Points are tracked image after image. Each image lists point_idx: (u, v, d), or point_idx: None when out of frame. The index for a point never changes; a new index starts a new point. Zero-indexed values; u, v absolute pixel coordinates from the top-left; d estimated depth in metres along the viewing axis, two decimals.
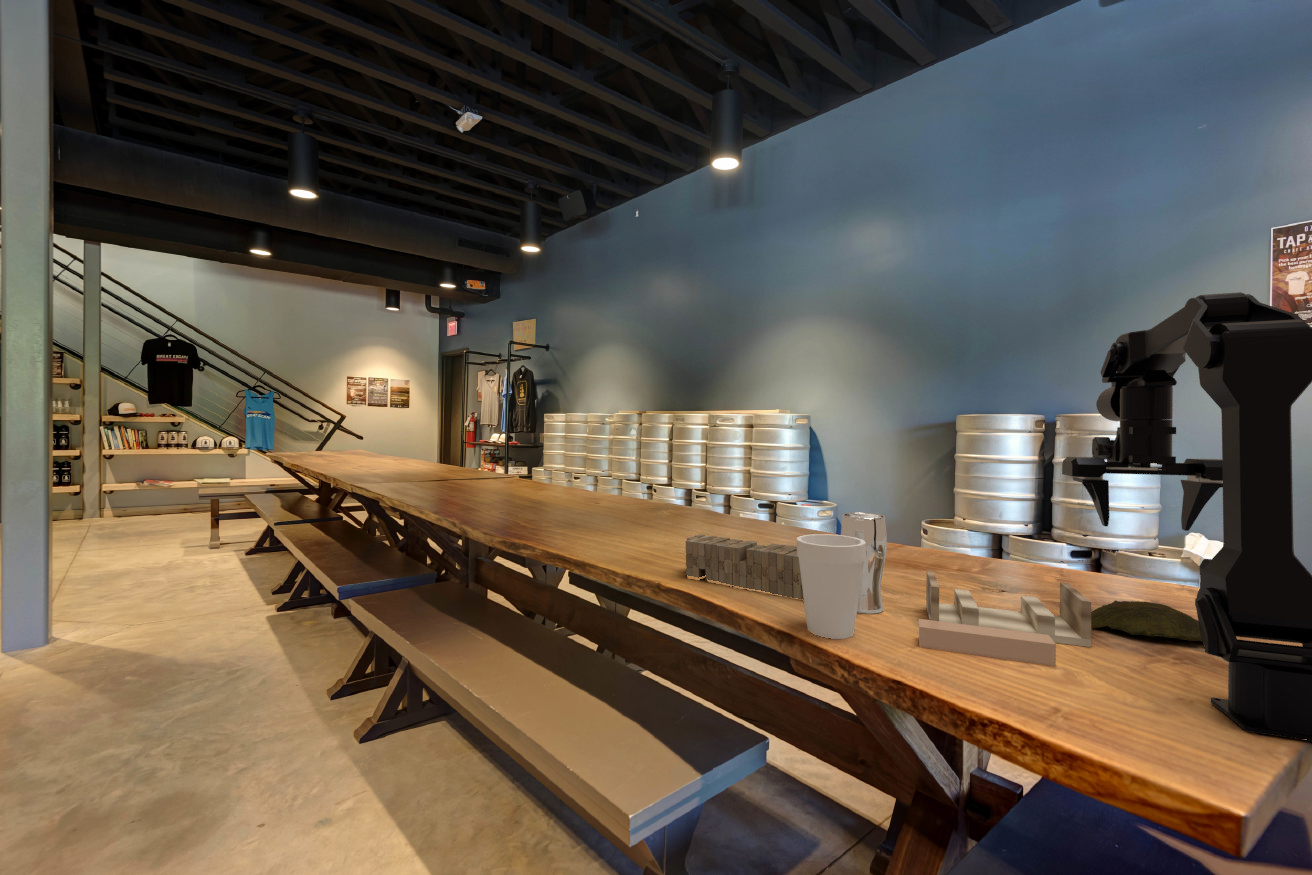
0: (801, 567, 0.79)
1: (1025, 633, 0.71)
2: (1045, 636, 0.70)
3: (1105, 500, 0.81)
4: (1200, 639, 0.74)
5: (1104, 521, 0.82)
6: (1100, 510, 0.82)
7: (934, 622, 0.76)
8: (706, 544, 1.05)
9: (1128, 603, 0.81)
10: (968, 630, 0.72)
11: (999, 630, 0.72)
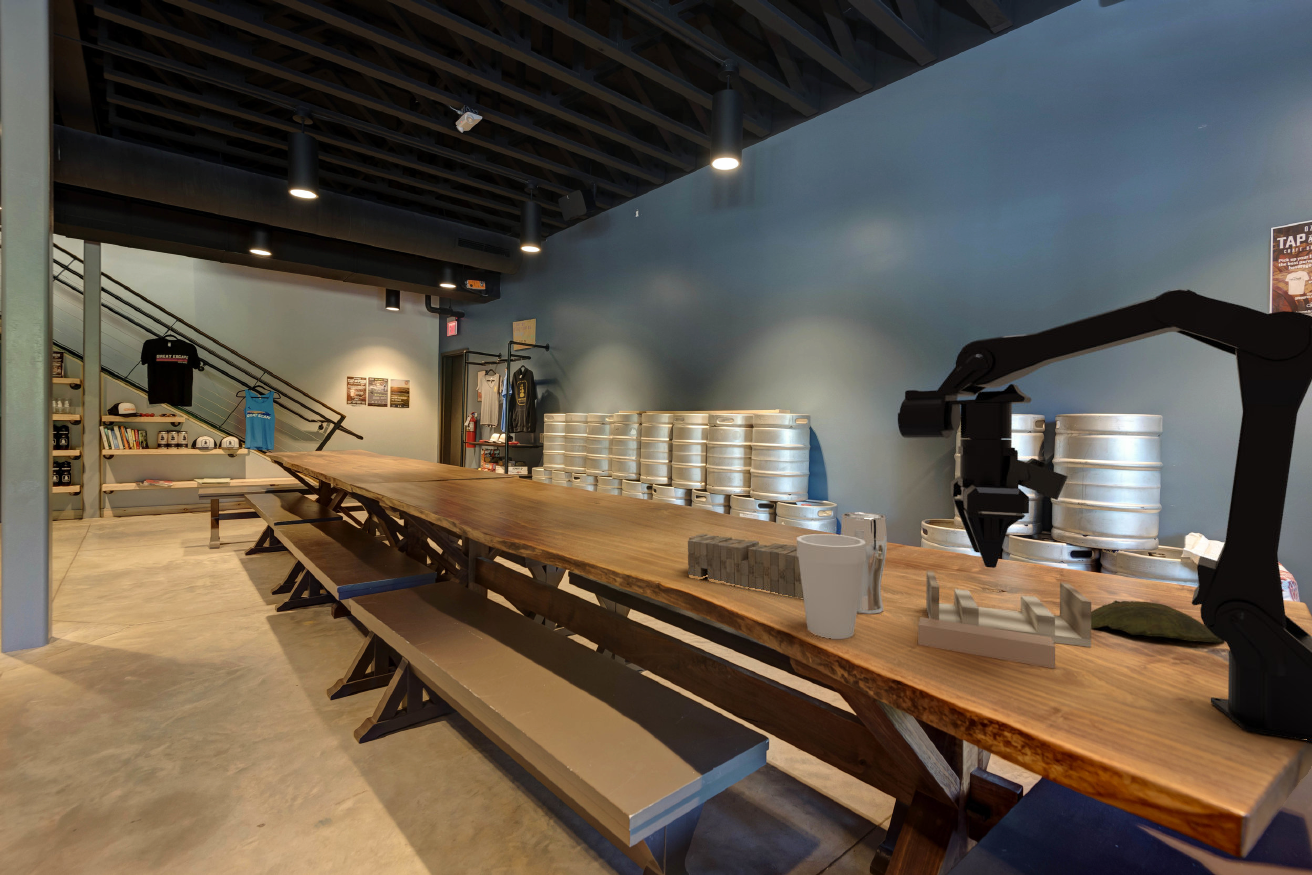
0: (801, 567, 0.79)
1: (1027, 635, 0.71)
2: (1047, 638, 0.70)
3: (962, 522, 0.78)
4: (1200, 639, 0.74)
5: (972, 545, 0.77)
6: None
7: (935, 621, 0.76)
8: (708, 544, 1.06)
9: (1128, 603, 0.81)
10: (967, 630, 0.73)
11: (1000, 631, 0.72)
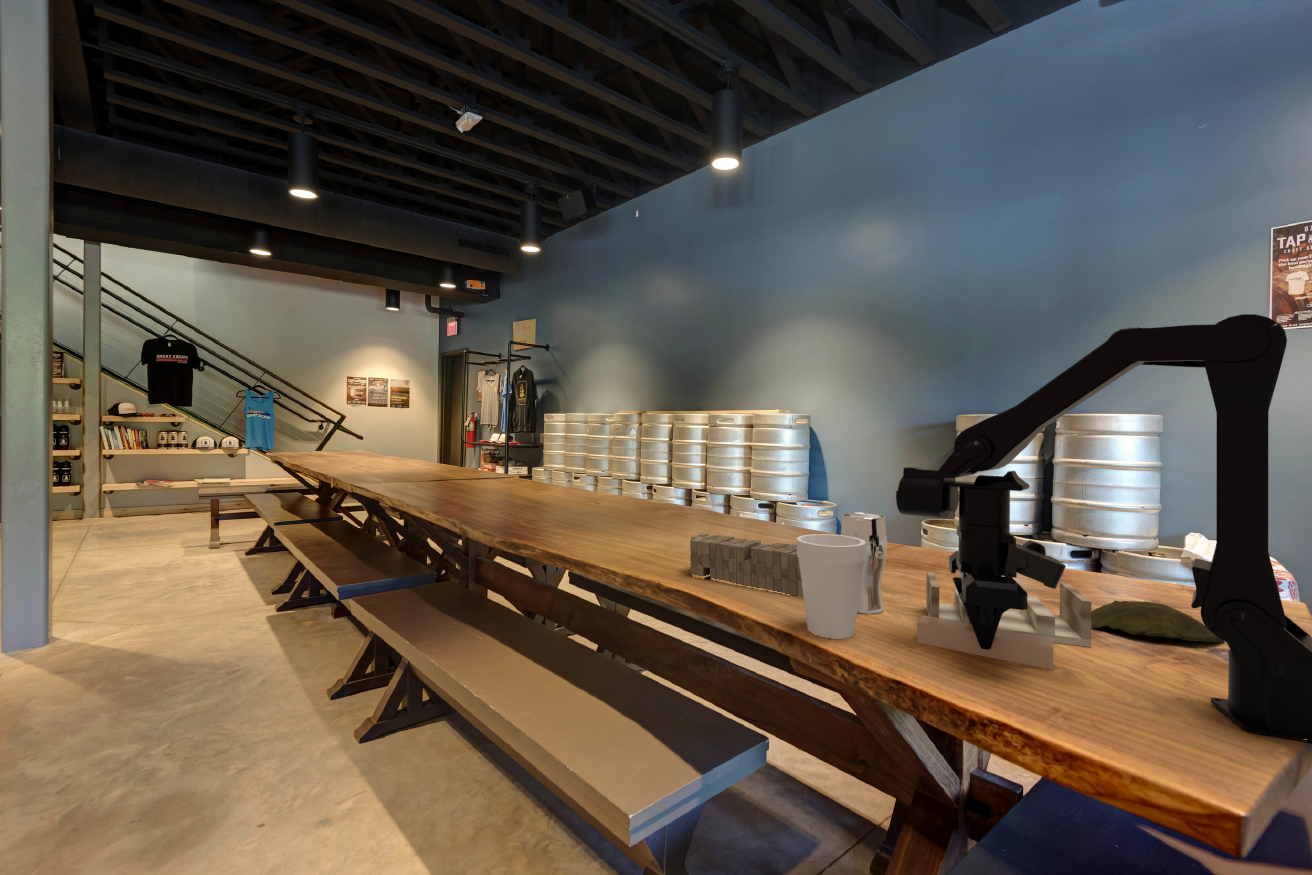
0: (801, 567, 0.79)
1: (1028, 635, 0.70)
2: (1048, 639, 0.69)
3: None
4: (1200, 639, 0.74)
5: None
6: None
7: (936, 619, 0.76)
8: (711, 543, 1.06)
9: (1128, 603, 0.81)
10: (966, 628, 0.73)
11: (1001, 630, 0.72)
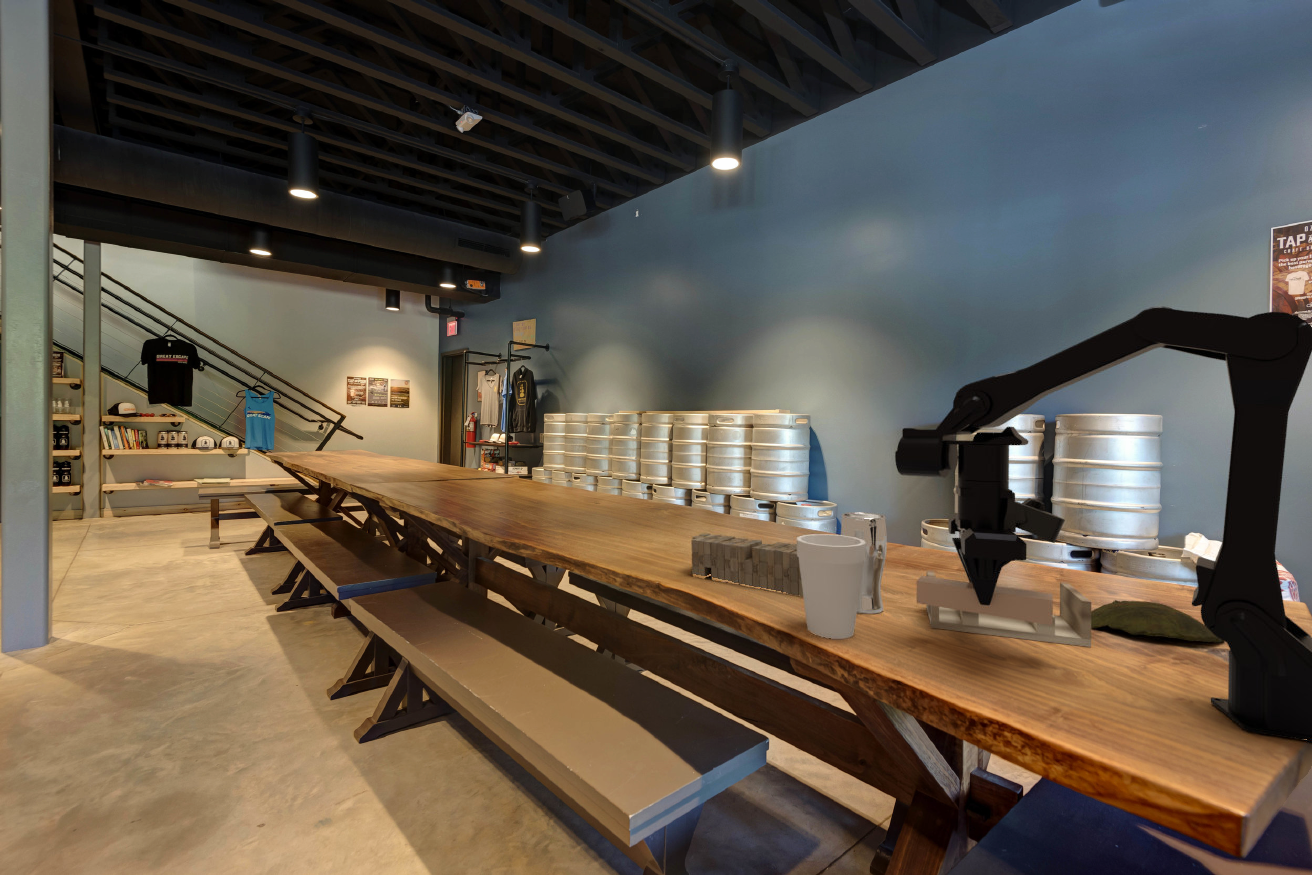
0: (801, 567, 0.79)
1: (1027, 591, 0.70)
2: (1047, 594, 0.69)
3: (962, 563, 0.76)
4: (1200, 639, 0.74)
5: None
6: None
7: (935, 578, 0.76)
8: (712, 543, 1.07)
9: (1128, 603, 0.81)
10: (965, 586, 0.73)
11: (1000, 587, 0.72)
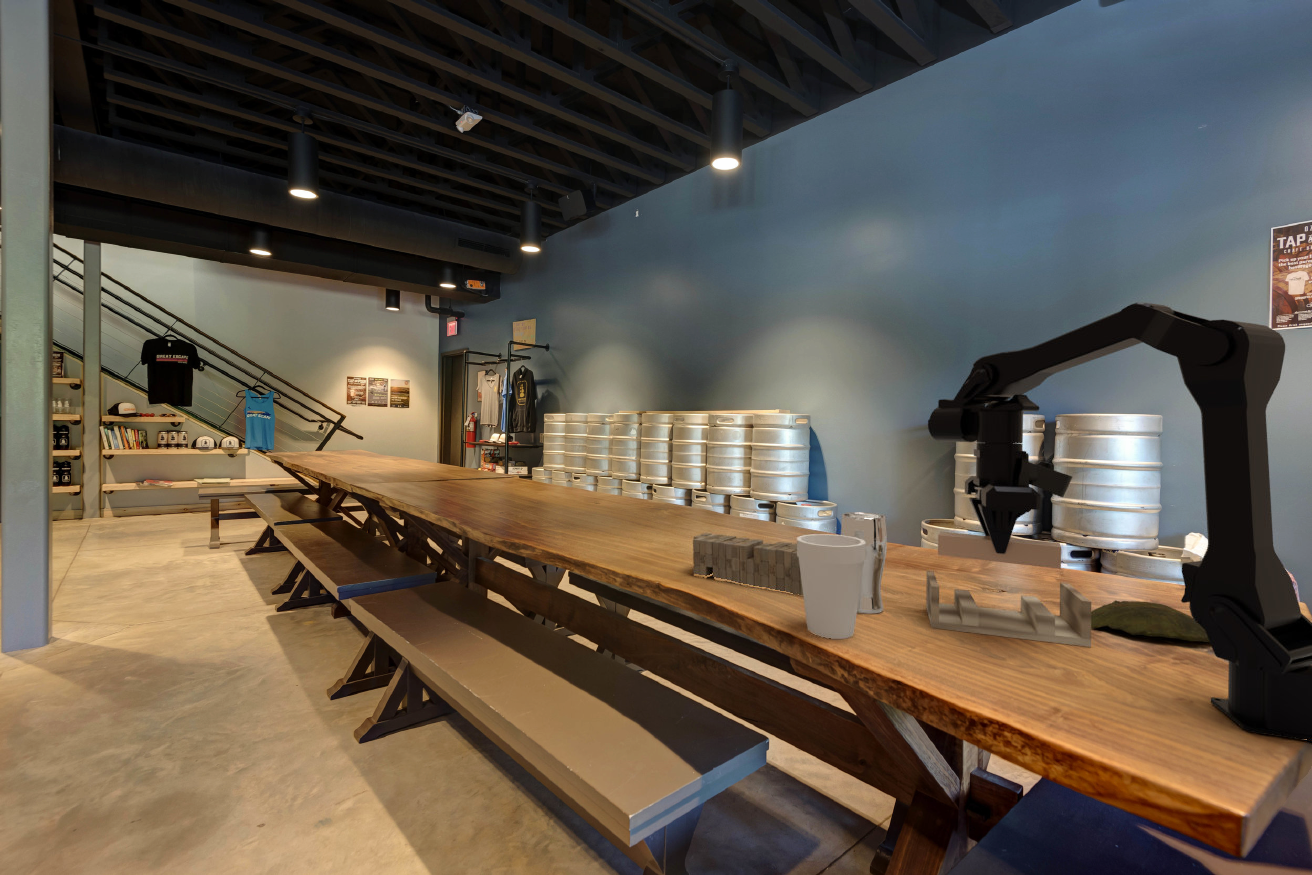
0: (801, 567, 0.79)
1: (1037, 541, 0.80)
2: (1055, 543, 0.78)
3: (978, 519, 0.84)
4: (1200, 639, 0.74)
5: None
6: None
7: (954, 533, 0.85)
8: (713, 542, 1.07)
9: (1128, 603, 0.81)
10: (982, 538, 0.81)
11: (1013, 539, 0.81)
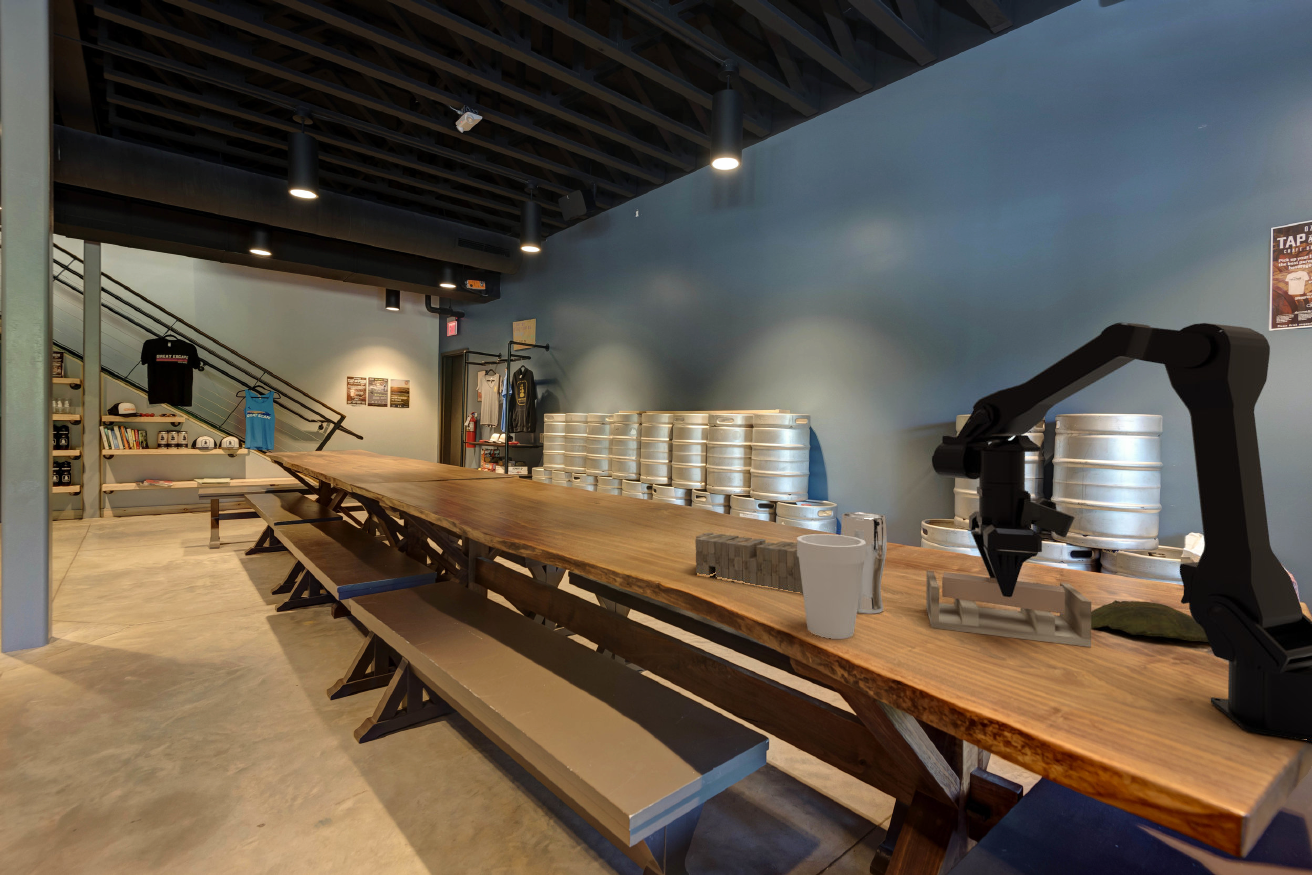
0: (801, 567, 0.79)
1: (1040, 584, 0.80)
2: (1058, 587, 0.79)
3: (980, 553, 0.87)
4: (1200, 639, 0.74)
5: (989, 574, 0.87)
6: None
7: (957, 574, 0.86)
8: (716, 542, 1.08)
9: (1128, 603, 0.81)
10: (986, 580, 0.82)
11: None
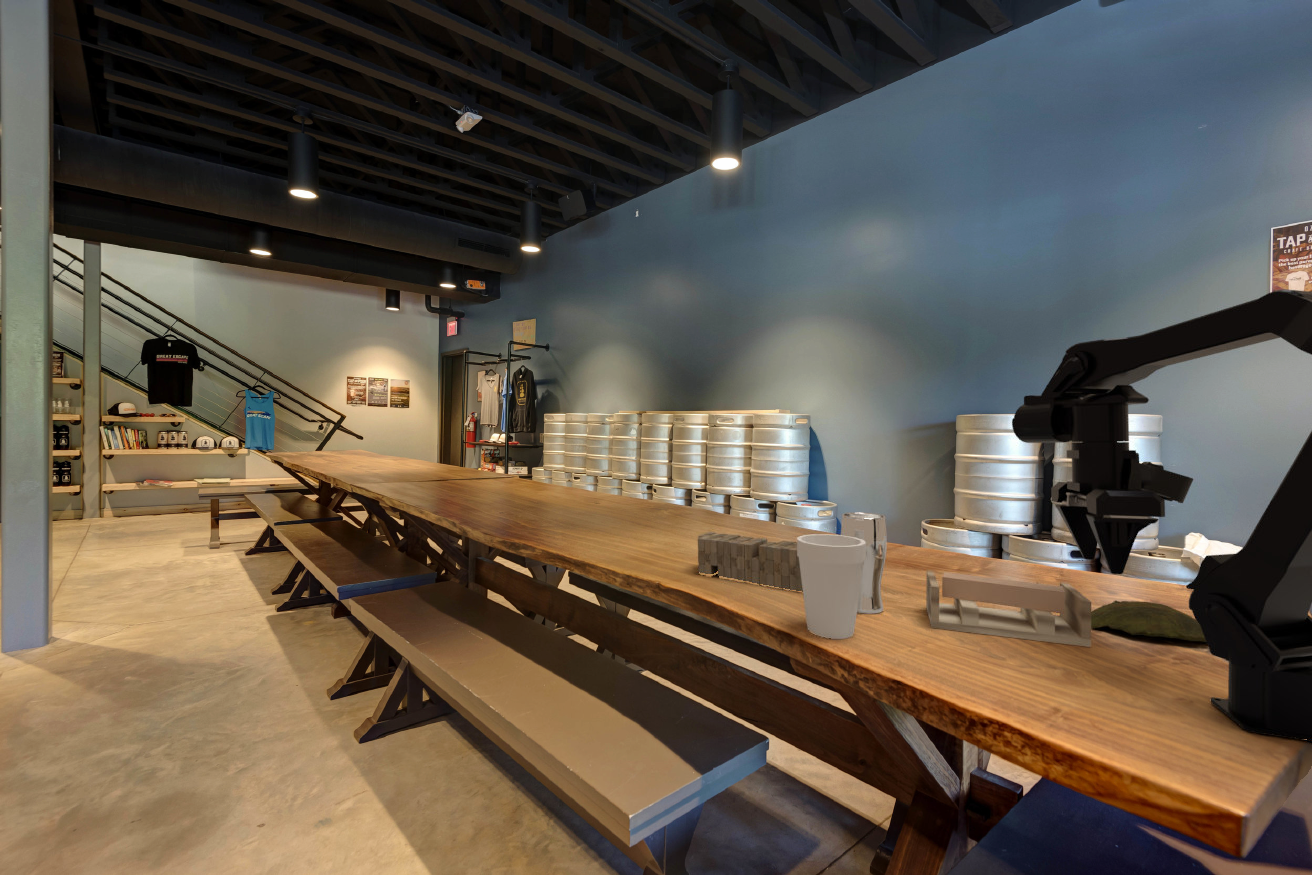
0: (801, 567, 0.79)
1: (1040, 584, 0.80)
2: (1058, 587, 0.79)
3: (1069, 528, 0.76)
4: (1200, 639, 0.74)
5: (1081, 552, 0.75)
6: None
7: (957, 574, 0.86)
8: (718, 541, 1.08)
9: (1128, 603, 0.81)
10: (986, 580, 0.82)
11: (1016, 581, 0.82)
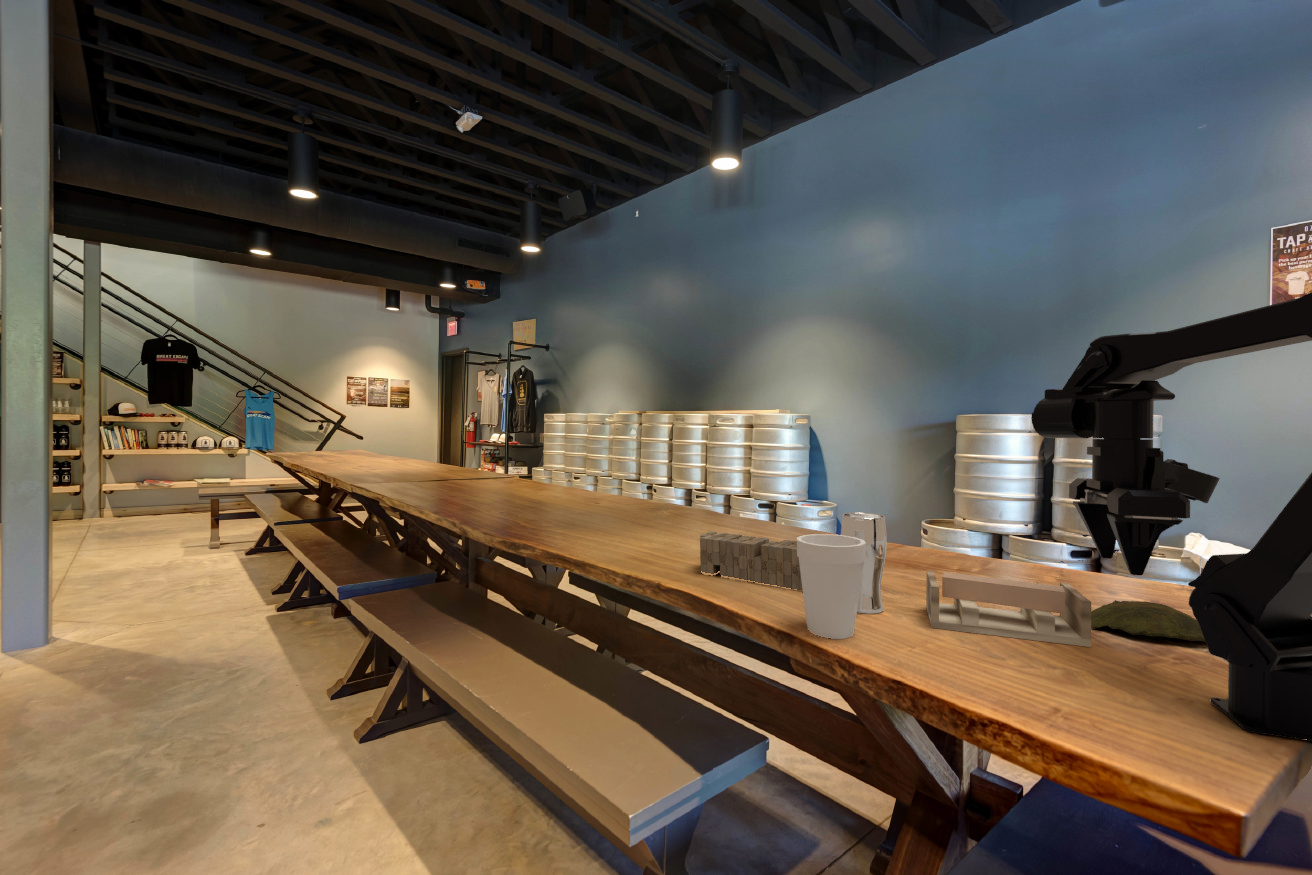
0: (801, 567, 0.79)
1: (1040, 584, 0.80)
2: (1058, 587, 0.79)
3: (1087, 526, 0.74)
4: (1200, 639, 0.74)
5: (1098, 551, 0.73)
6: None
7: (957, 574, 0.86)
8: (721, 541, 1.09)
9: (1128, 603, 0.81)
10: (986, 580, 0.82)
11: (1016, 581, 0.82)
